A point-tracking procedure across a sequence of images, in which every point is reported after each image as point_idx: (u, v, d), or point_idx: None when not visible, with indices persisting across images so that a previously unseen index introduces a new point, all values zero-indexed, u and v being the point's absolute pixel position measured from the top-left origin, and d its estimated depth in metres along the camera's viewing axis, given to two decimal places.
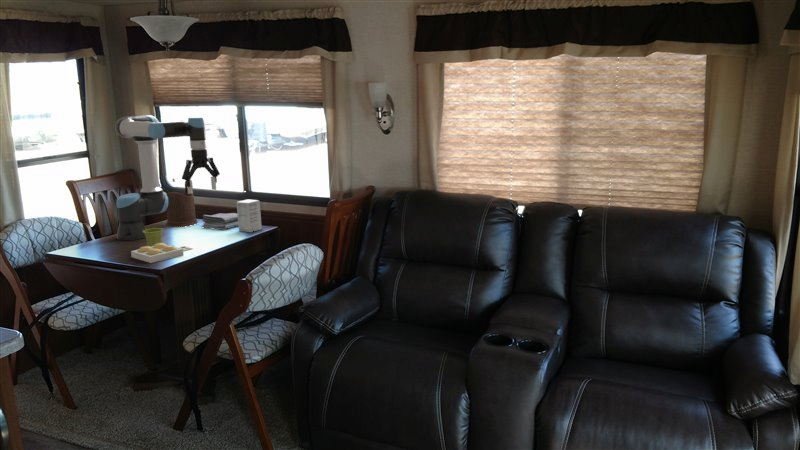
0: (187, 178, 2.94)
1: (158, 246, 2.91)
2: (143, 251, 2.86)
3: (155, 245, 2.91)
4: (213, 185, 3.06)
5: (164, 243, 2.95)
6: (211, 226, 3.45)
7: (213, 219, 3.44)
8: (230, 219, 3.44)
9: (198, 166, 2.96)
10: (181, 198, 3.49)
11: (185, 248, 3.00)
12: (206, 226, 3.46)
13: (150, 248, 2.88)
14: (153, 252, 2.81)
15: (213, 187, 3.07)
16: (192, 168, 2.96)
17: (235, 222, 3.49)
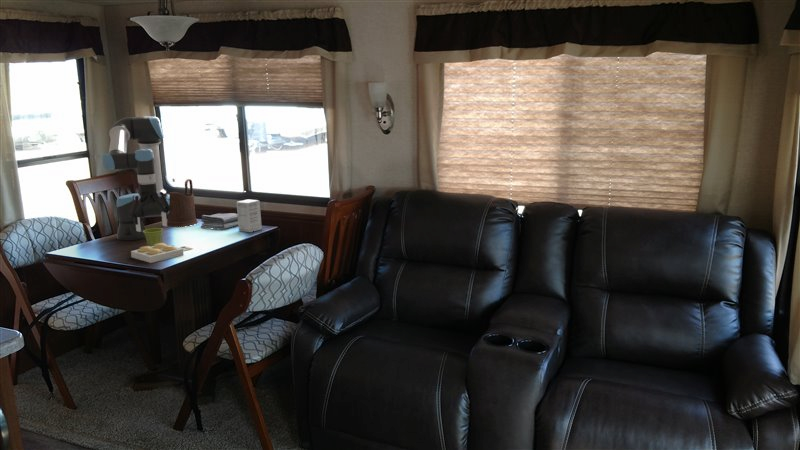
0: (134, 215, 2.73)
1: (158, 246, 2.91)
2: (143, 251, 2.86)
3: (155, 245, 2.91)
4: (164, 222, 2.85)
5: (164, 243, 2.95)
6: (210, 226, 3.45)
7: (212, 219, 3.43)
8: (229, 219, 3.44)
9: (146, 202, 2.76)
10: (181, 198, 3.49)
11: (185, 248, 3.00)
12: (205, 226, 3.46)
13: (150, 248, 2.88)
14: (153, 252, 2.81)
15: (164, 223, 2.86)
16: (140, 204, 2.75)
17: (234, 222, 3.49)
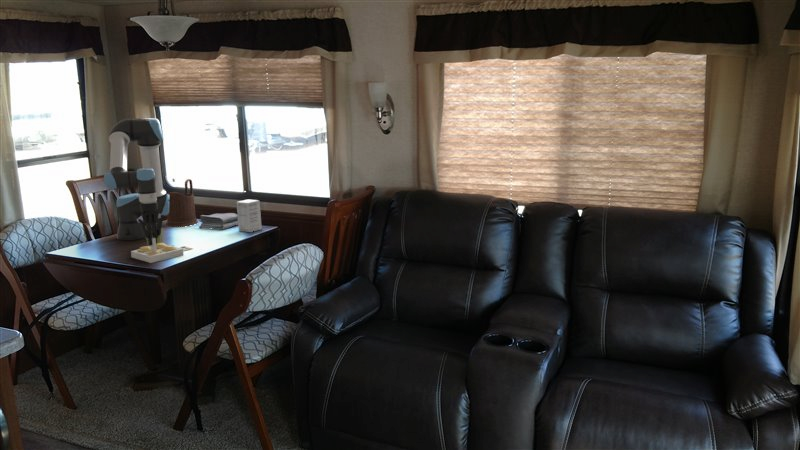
0: (149, 237, 2.80)
1: (158, 246, 2.91)
2: (143, 251, 2.86)
3: None
4: None
5: (164, 243, 2.95)
6: (209, 226, 3.45)
7: (211, 219, 3.43)
8: (228, 219, 3.44)
9: (150, 220, 2.78)
10: (181, 198, 3.49)
11: (185, 248, 3.00)
12: (204, 226, 3.46)
13: (150, 248, 2.88)
14: (153, 254, 2.81)
15: None
16: (146, 224, 2.79)
17: (233, 222, 3.49)
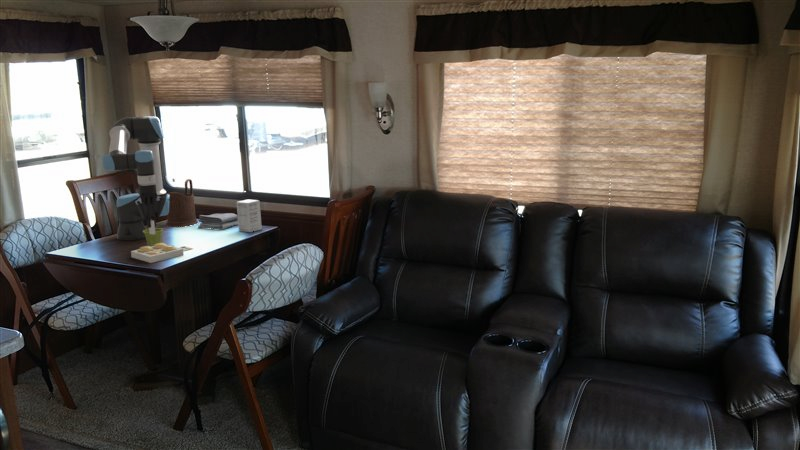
0: (147, 219, 2.79)
1: (158, 246, 2.91)
2: (143, 251, 2.86)
3: (155, 245, 2.91)
4: None
5: (164, 243, 2.95)
6: (208, 226, 3.45)
7: (210, 219, 3.43)
8: (227, 219, 3.44)
9: (149, 202, 2.78)
10: (181, 198, 3.49)
11: (185, 248, 3.00)
12: (203, 226, 3.46)
13: (150, 248, 2.88)
14: None
15: None
16: (145, 207, 2.78)
17: (232, 222, 3.49)
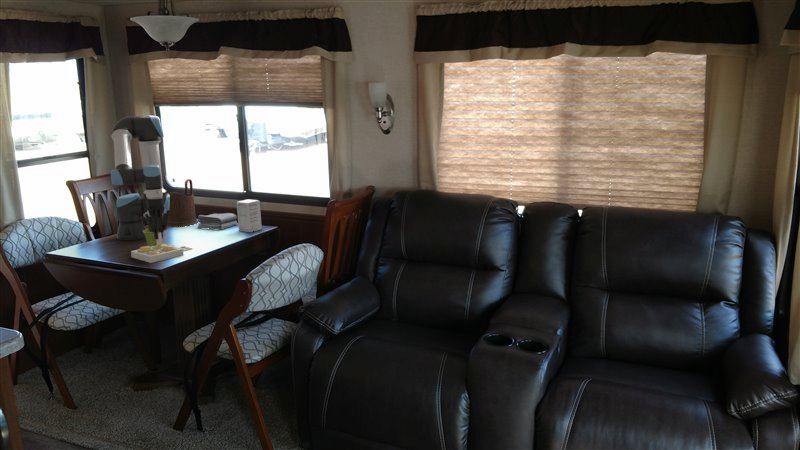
0: (155, 231, 2.90)
1: (158, 247, 2.91)
2: (143, 251, 2.86)
3: (155, 246, 2.91)
4: None
5: (164, 245, 2.95)
6: (207, 226, 3.45)
7: (209, 219, 3.43)
8: (226, 219, 3.44)
9: (157, 215, 2.89)
10: (181, 198, 3.49)
11: (185, 248, 3.00)
12: (202, 226, 3.46)
13: (150, 248, 2.88)
14: None
15: None
16: (153, 219, 2.89)
17: (231, 222, 3.49)
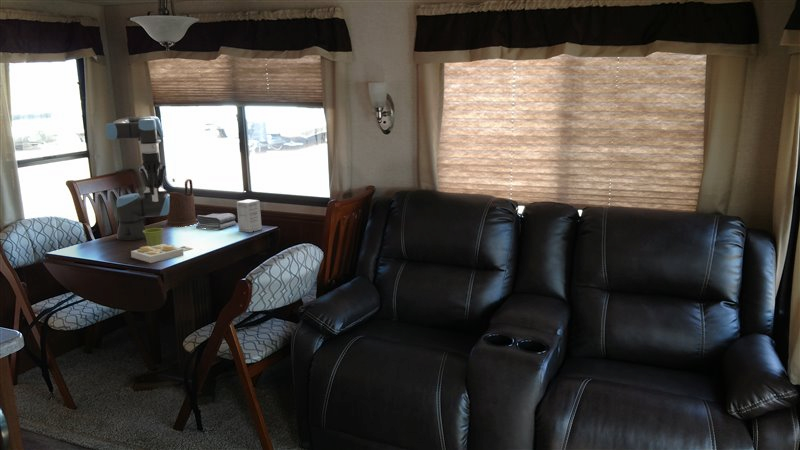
0: (150, 187, 2.86)
1: None
2: (143, 251, 2.86)
3: (155, 248, 2.92)
4: None
5: None
6: (205, 226, 3.45)
7: (208, 219, 3.43)
8: (225, 219, 3.44)
9: (152, 170, 2.85)
10: (181, 198, 3.49)
11: (185, 248, 3.00)
12: (200, 226, 3.46)
13: (150, 248, 2.88)
14: None
15: None
16: (148, 174, 2.85)
17: (230, 222, 3.49)
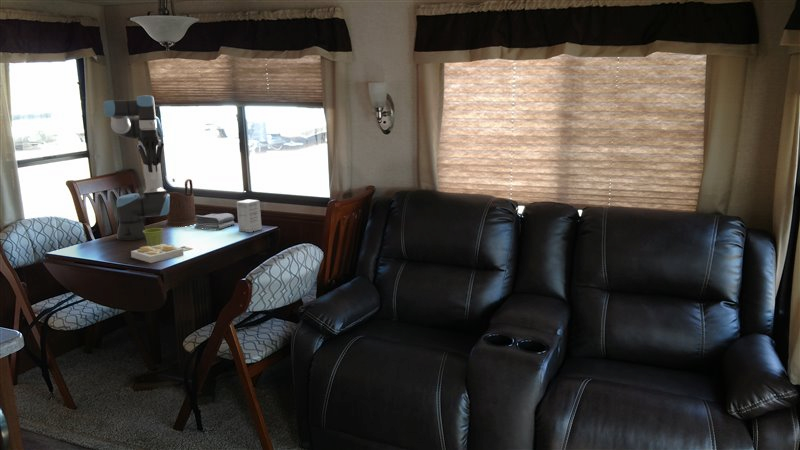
0: (149, 164, 2.85)
1: None
2: (143, 251, 2.86)
3: (155, 248, 2.92)
4: None
5: None
6: (204, 226, 3.44)
7: (206, 219, 3.43)
8: (224, 219, 3.44)
9: (150, 147, 2.83)
10: (181, 198, 3.49)
11: (185, 248, 3.00)
12: (199, 226, 3.46)
13: (150, 248, 2.88)
14: None
15: None
16: (147, 152, 2.84)
17: (228, 222, 3.49)
